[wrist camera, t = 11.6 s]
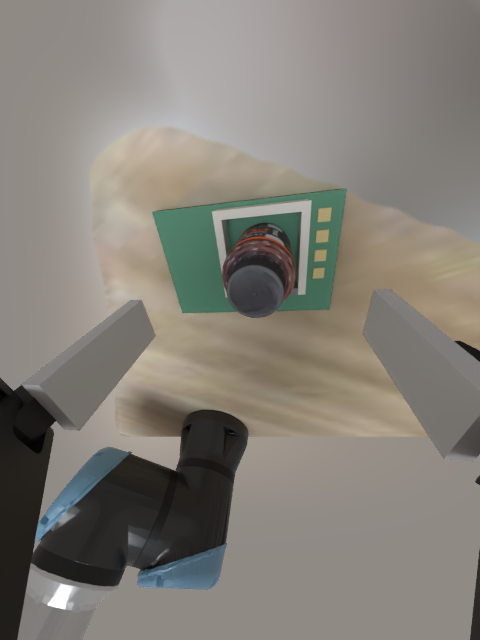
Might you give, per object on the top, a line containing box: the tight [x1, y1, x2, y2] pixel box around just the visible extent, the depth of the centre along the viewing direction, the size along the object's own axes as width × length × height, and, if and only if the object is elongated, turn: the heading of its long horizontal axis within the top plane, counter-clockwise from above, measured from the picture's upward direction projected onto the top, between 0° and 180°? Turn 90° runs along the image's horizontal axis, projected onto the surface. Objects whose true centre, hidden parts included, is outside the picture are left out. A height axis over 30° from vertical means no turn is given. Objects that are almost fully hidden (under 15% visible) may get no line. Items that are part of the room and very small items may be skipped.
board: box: [152, 189, 347, 313], centre depth 24 cm, size 20×13×4 cm, turn 96°
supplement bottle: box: [222, 223, 296, 318], centre depth 18 cm, size 6×6×11 cm
